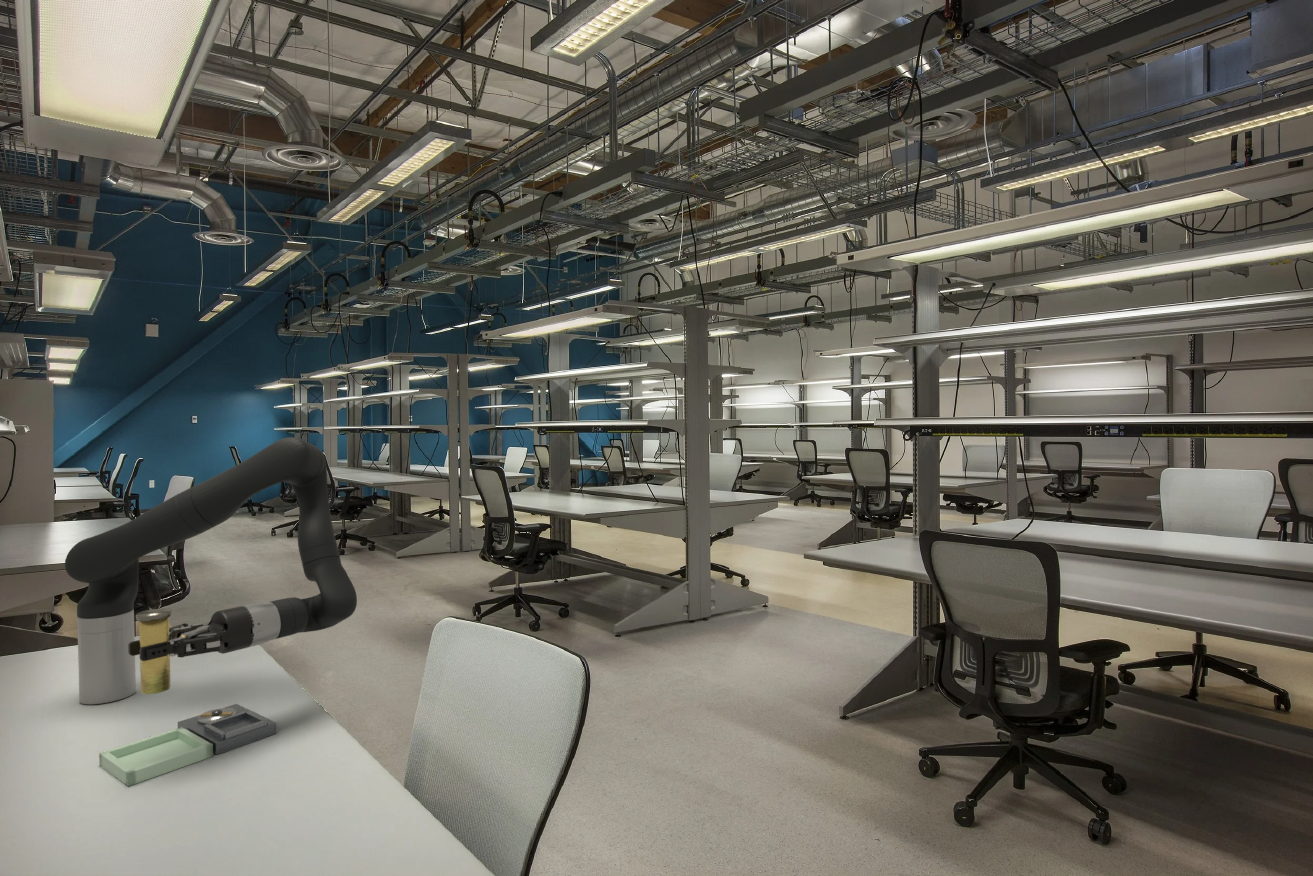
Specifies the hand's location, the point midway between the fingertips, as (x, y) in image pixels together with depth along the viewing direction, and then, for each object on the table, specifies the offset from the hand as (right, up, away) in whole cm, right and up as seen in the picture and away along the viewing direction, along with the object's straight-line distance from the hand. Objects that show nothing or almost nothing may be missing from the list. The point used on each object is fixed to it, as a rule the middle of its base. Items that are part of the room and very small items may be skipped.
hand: (135, 652), depth 116 cm
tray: (+2, -19, +3) cm, 19 cm away
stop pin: (+2, -7, +2) cm, 8 cm away
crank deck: (+7, -18, +13) cm, 24 cm away
